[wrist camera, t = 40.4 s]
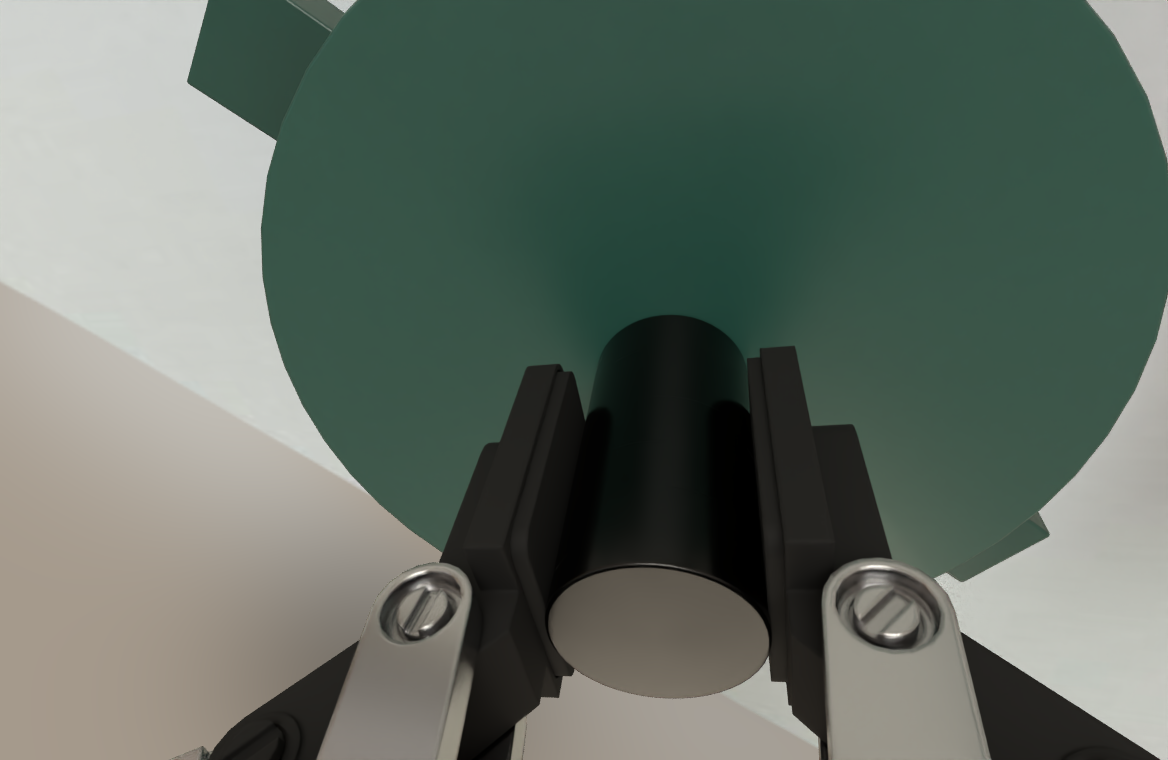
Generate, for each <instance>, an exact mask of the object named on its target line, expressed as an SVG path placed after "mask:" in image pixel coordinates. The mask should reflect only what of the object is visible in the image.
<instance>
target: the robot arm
mask: <svg viewBox="0 0 1168 760" xmlns="http://www.w3.org/2000/svg"><path fill="white" fill-rule="evenodd" d="M747 371H748V389H749V406H750V420H751V431H752V442H753V453H754V464H755V474H756V485H757V496H758V507H759V518H760V529H761V540H762V550H763V561H764V572H765V583H766V594H767V605H768V613H769V615H770V620H771V626H772V646H771V650H770V653H769V663H770V674H771V681H772V682H786V685H787V694H788V704H789V705H791V706H792V713H793V715H794V716H795V717H796V718H798V719H799V720H800V721H801V722H802V723H803V724H804V725H805V726H807V727H808V728H809V729H810V730H811V731H812V732H813V733H814V734H816V735H817V736H818V742H819V760H1160V759H1159V758H1157V757H1155V756H1154V755H1152V754H1151V753H1149V752H1148V751H1146V750H1145V749H1143V748H1141V747H1140V746H1138V745H1137V744H1135V743H1134V742H1132V741H1131V740H1129V739H1127V738H1126V737H1124V736H1123V735H1121V734H1120V733H1118V732H1116V731H1115V730H1113V729H1112V728H1110V727H1109V726H1107V725H1106V724H1104V723H1102V722H1101V721H1099V720H1098V719H1096V718H1095V717H1093V716H1091V715H1090V714H1088V713H1087V712H1085V711H1084V710H1082V709H1081V708H1079V707H1077V706H1076V705H1074V704H1073V703H1071V702H1070V701H1068V700H1066V699H1065V698H1063V697H1062V696H1060V695H1059V694H1057V693H1056V692H1054V691H1052V690H1051V689H1049V688H1048V687H1046V686H1045V685H1043V684H1041V683H1040V682H1038V681H1037V680H1035V679H1034V678H1032V677H1031V676H1029V675H1027V674H1026V673H1024V672H1023V671H1021V670H1020V669H1018V668H1016V667H1015V666H1013V665H1012V664H1010V663H1009V662H1007V661H1006V660H1004V659H1002V658H1001V657H999V656H998V655H996V654H995V653H993V652H991V651H990V650H988V649H987V648H985V647H984V646H982V645H981V644H979V643H977V642H976V641H974V640H973V639H971V638H970V637H968V636H966V635H965V634H963V633H962V632H960V629H959V624H958V620H957V616H956V612H955V609H954V607H953V605H952V603H951V600H950V598H949V596H948V594H947V593H946V592H945V591H944V589H943V588H942V587H941V586H940V585H939V584H938V583H937V581H936V580H935V579H933V578H932V577H930V576H929V575H927V574H926V573H924V572H923V571H921V570H920V569H919V568H916V567H914V566H911V565H909V564H906V563H904V562H901V561H898V560H893V559H892V556H891V552H890V549H889V545H888V542H887V538H886V535H885V531H884V528H883V524H882V520H881V517H880V513H879V510H878V506H877V503H876V499H875V496H874V492H873V489H872V485H871V481H870V478H869V474H868V471H867V467H866V464H865V460H864V457H863V453H862V450H861V446H860V442H859V439H858V435H857V432H856V430H855V427H854V426H853V424H842V425H823V426H811V421H810V416H809V411H808V407H807V402H806V397H805V392H804V387H803V382H802V377H801V372H800V367H799V362H798V357H797V352H796V348H795V346H782V347H769V348H760V357H755V358H747ZM584 426H585V417H584V413H583V409H582V405H581V400H580V396H579V392H578V388H577V383H576V379H575V376H574V373H573V372H572V371H566V372H564V371H563V368H562V366H561V365H560V364H548V365H535V366H528V367H527V368H526V370H525V372H524V375H523V378H522V381H521V384H520V386H519V389H518V392H517V395H516V398H515V400H514V403H513V406H512V409H511V412H510V415H509V417H508V420H507V423H506V426H505V429H504V431H503V434H502V437H501V440H500V442H494V443H488V444H486V445H485V446H484V448H483V450H482V452H481V454H480V457H479V459H478V462H477V464H476V467H475V470H474V472H473V475H472V477H471V480H470V483H469V485H468V488H467V491H466V493H465V496H464V498H463V501H462V504H461V506H460V509H459V511H458V514H457V517H456V519H455V522H454V525H453V527H452V530H451V532H450V535H449V538H448V540H447V543H446V546H445V548H444V551H443V553H442V556H441V559H440V561H439V563H428V564H423V565H418V566H416V567H414V568H411V569H409V570H407V571H405V572H403V573H402V574H400V575H399V576H397V577H396V578H394V579H393V580H392V581H390V582H389V583H388V584H387V585H386V586H385V588H384V589H383V590H382V591H381V592H380V594H378V596H377V598H376V600H375V602H374V604H373V606H372V608H371V610H370V613H369V615H368V618H367V621H366V624H365V626H364V629H363V632H362V635H361V637H360V640H359V641H357V642H356V643H354V644H353V645H352V646H350V647H348V648H347V649H345V650H344V651H343V652H341V653H339V654H338V655H337V656H335V657H334V658H332V659H331V660H329V661H328V662H326V663H325V664H323V665H322V666H320V667H319V668H317V669H316V670H314V671H313V672H311V673H310V674H308V675H307V676H306V677H304V678H303V679H301V680H300V681H298V682H297V683H295V684H294V685H292V686H291V687H289V688H288V689H286V690H285V691H283V692H282V693H280V694H279V695H277V696H276V697H274V698H273V699H271V700H270V701H268V702H267V703H266V704H264V705H262V706H261V707H260V708H258V709H257V710H255V711H254V712H252V713H251V714H249V715H248V716H246V717H245V718H244V719H242V720H241V721H240V722H239V723H237V724H236V725H235V726H234V727H233V728H231V729H230V730H229V731H228V732H227V734H226V735H225V736H224V737H223V738H222V739H221V741H220V742H219V743H218V744H217V745H216V747H215V748H214V750H213V751H211V752H208V751H207V750H206V749H205V748H204V747H203V746H201V747H199V748H197V749H194V750H192V751H189V752H187V753H184V754H182V755H180V756H177V757H175V758H172V759H170V760H523V752H524V743H525V736H526V728H527V722H526V715H527V714H529V713H530V712H531V711H532V710H534V709H535V708H536V707H537V706H538V705H539V704H540V699H541V697H554V698H559V694H560V688H561V683H562V677H563V676H572V675H573V673H574V668H573V667H571V666H570V665H569V664H568V663H567V662H566V661H564V659H563V658H562V657H561V656H560V655H559V654H558V653H557V652H556V650H555V649H554V647H553V646H552V644H551V642H550V640H549V638H548V635H547V631H546V627H545V611H546V606H547V601H548V596H549V591H550V587H551V582H552V577H553V573H554V568H555V563H556V558H557V554H558V549H559V544H560V540H561V535H562V530H563V525H564V521H565V516H566V511H567V507H568V502H569V497H570V492H571V488H572V483H573V478H574V474H575V469H576V464H577V459H578V455H579V450H580V445H581V440H582V436H583V431H584Z"/></svg>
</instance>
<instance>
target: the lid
mask: <svg viewBox="0 0 1168 760" xmlns="http://www.w3.org/2000/svg"><path fill="white" fill-rule="evenodd" d="M261 243H262V274H263V282H264V288H265V293H266V299H267V305H268V310H269V316H270V322H271V326H272V329H273V332H274V335H275V338H276V341H277V344H278V348H279V351H280V354H281V357H282V360H283V363H284V366H285V368H286V371H287V373H288V375H289V377H290V379H291V381H292V383H293V386H294V388H295V390H296V392H297V394H298V396H299V399H300V401H301V403H302V405H303V407H304V408H305V410H306V412H307V413H308V415H309V416H310V418H311V420H312V421H313V423H314V425H315V426H316V428H317V429H318V431H319V433H320V434H321V436H322V437H323V439H324V441H325V442H326V443H327V445H328V446H329V447H330V449H331V450H332V451H333V452H334V454H335V455H336V456H337V458H338V459H339V460H340V461H341V463H342V464H343V465H344V466H345V468H346V469H347V470H348V472H349V473H350V474H351V475H352V476H353V477H354V478H355V479H356V480H357V481H358V482H359V483H360V484H361V486H362V487H363V488H364V489H365V490H366V491H367V492H368V493H369V494H370V495H371V496H372V497H373V498H374V499H375V500H376V501H377V502H378V503H379V504H380V505H381V506H382V507H384V508H385V509H386V510H387V511H388V512H390V513H391V514H392V515H393V516H394V517H395V518H397V519H398V520H399V521H400V522H401V523H402V524H404V525H405V526H406V527H407V528H408V529H410V530H411V531H412V532H414V533H415V534H417V535H418V536H419V537H421V538H423V539H424V540H425V541H427V542H428V543H429V544H431V545H432V546H434V547H435V548H437V549H438V550H439V551H441V552H442V553H443V551H444V548H445V546H446V543H447V540H448V538H449V535H450V532H451V530H452V527H453V525H454V522H455V519H456V517H457V514H458V511H459V509H460V506H461V504H462V501H463V498H464V496H465V493H466V491H467V488H468V485H469V483H470V480H471V477H472V475H473V472H474V470H475V467H476V464H477V462H478V459H479V457H480V454H481V452H482V450H483V448H484V446H485V445H486V444H488V443H494V442H500V440H501V437H502V434H503V431H504V429H505V426H506V423H507V420H508V417H509V415H510V412H511V409H512V406H513V403H514V400H515V398H516V395H517V392H518V389H519V386H520V384H521V381H522V378H523V375H524V372H525V370H526V368H527V367H528V366H535V365H548V364H560V365H561V366H562V368H563V371H564V372H566V371H572V372H573V373H574V376H575V379H576V383H577V388H578V392H579V396H580V400H581V405H582V409H583V413H584V417H585V426H584V431H583V436H582V440H581V445H580V450H579V455H578V459H577V464H576V469H575V474H574V478H573V483H572V488H571V492H570V497H569V502H568V507H567V511H566V516H565V521H564V525H563V530H562V535H561V540H560V544H559V549H558V554H557V558H556V563H555V568H554V573H553V577H552V582H551V587H550V591H549V596H548V601H547V606H546V611H545V627H546V631H547V635H548V638H549V640H550V642H551V644H552V646H553V647H554V649H555V650H556V652H557V653H558V654H559V655H560V656H561V657H562V658H563V659H564V661H566V662H567V663H568V664H569V665H570V666H571V667H573V668H574V669H576V670H577V671H578V672H580V673H581V674H583V675H585V676H587V677H588V678H590V679H592V680H594V681H596V682H598V683H601V684H603V685H605V686H608V687H611V688H614V689H616V690H620V691H624V692H627V693H631V694H636V695H641V696H648V697H656V698H691V697H700V696H706V695H711V694H715V693H719V692H722V691H725V690H728V689H731V688H733V687H735V686H737V685H739V684H741V683H743V682H745V681H746V680H748V679H749V678H751V677H752V676H753V675H754V674H755V673H756V672H758V671H759V669H760V668H761V667H762V666H763V665H764V663H765V661H766V659H767V658H768V656H769V653H770V650H771V646H772V626H771V620H770V615H769V613H768V605H767V594H766V583H765V572H764V561H763V550H762V540H761V529H760V518H759V507H758V496H757V485H756V474H755V464H754V453H753V442H752V431H751V420H750V406H749V389H748V371H747V358H755V357H760V348H769V347H782V346H795V348H796V352H797V357H798V362H799V367H800V372H801V377H802V382H803V387H804V392H805V397H806V402H807V407H808V411H809V416H810V421H811V426H823V425H842V424H853V426H854V427H855V430H856V432H857V435H858V439H859V442H860V446H861V450H862V453H863V457H864V460H865V464H866V467H867V471H868V474H869V478H870V481H871V485H872V489H873V492H874V496H875V499H876V503H877V506H878V510H879V513H880V517H881V520H882V524H883V528H884V531H885V535H886V538H887V542H888V545H889V549H890V552H891V556H892V559H893V560H898V561H901V562H904V563H906V564H909V565H911V566H914V567H916V568H919V569H920V570H921V571H923V572H924V573H926V574H927V575H929V576H930V577H932V578H933V579H934V578H936V577H938V576H940V575H942V574H944V573H946V572H948V571H950V570H952V569H954V568H956V567H958V566H960V565H962V564H963V563H965V562H967V561H968V560H970V559H971V558H973V557H975V556H976V555H978V554H980V553H981V552H983V551H984V550H986V549H988V548H989V547H991V546H993V545H994V544H996V543H997V542H999V541H1001V540H1002V539H1003V538H1004V537H1006V536H1007V535H1008V534H1010V533H1011V532H1012V531H1014V530H1015V529H1016V528H1017V527H1019V526H1020V525H1021V524H1023V523H1024V522H1025V521H1027V520H1028V519H1029V518H1030V517H1032V516H1033V515H1034V514H1036V513H1037V512H1038V511H1039V510H1040V509H1041V508H1042V507H1044V506H1045V505H1046V504H1047V503H1048V502H1049V501H1050V500H1051V499H1052V498H1053V497H1054V496H1055V495H1056V494H1057V493H1058V492H1059V491H1060V490H1061V489H1062V488H1063V487H1064V486H1065V485H1066V484H1067V483H1068V482H1069V481H1070V480H1071V479H1072V478H1073V477H1074V476H1075V475H1076V474H1077V473H1078V472H1079V470H1080V469H1081V468H1082V467H1083V465H1084V464H1085V463H1086V462H1087V461H1088V459H1089V458H1090V457H1091V456H1092V454H1093V453H1094V452H1095V451H1096V449H1097V448H1098V447H1099V446H1100V444H1101V443H1102V442H1103V441H1104V439H1105V438H1106V437H1107V436H1108V434H1109V432H1110V431H1111V429H1112V427H1113V426H1114V424H1115V423H1116V421H1117V419H1118V418H1119V416H1120V414H1121V413H1122V411H1123V409H1124V408H1125V406H1126V404H1127V403H1128V401H1129V399H1130V398H1131V396H1132V395H1133V393H1134V391H1135V389H1136V387H1137V385H1138V382H1139V380H1140V377H1141V375H1142V373H1143V370H1144V368H1145V366H1146V363H1147V361H1148V358H1149V356H1150V354H1151V351H1152V349H1153V347H1154V344H1155V342H1156V340H1157V336H1158V331H1159V327H1160V323H1161V319H1162V315H1163V311H1164V307H1165V303H1166V299H1167V295H1168V163H1167V158H1166V154H1165V151H1164V148H1163V145H1162V141H1161V138H1160V135H1159V132H1158V129H1157V125H1156V122H1155V119H1154V116H1153V113H1152V109H1151V106H1150V103H1149V100H1148V96H1147V95H1146V93H1145V91H1144V89H1143V87H1142V85H1141V83H1140V82H1139V80H1138V78H1137V76H1136V74H1135V72H1134V70H1133V69H1132V67H1131V65H1130V63H1129V61H1128V59H1127V57H1126V56H1125V54H1124V52H1123V50H1122V48H1121V46H1120V44H1119V43H1118V41H1117V39H1116V37H1115V35H1114V34H1113V33H1112V31H1111V30H1110V29H1109V28H1108V26H1107V25H1106V24H1105V23H1104V22H1103V20H1102V19H1101V18H1100V17H1099V15H1098V14H1097V13H1096V12H1095V11H1094V9H1093V8H1092V7H1091V6H1090V5H1089V3H1088V2H1087V1H1086V0H357V1H356V2H355V3H354V4H353V5H352V6H351V7H350V8H349V9H348V10H347V11H346V12H345V13H344V14H343V15H342V17H341V18H340V20H339V21H338V23H337V24H336V26H335V27H334V29H333V30H332V32H331V33H330V35H329V36H328V38H327V39H326V41H325V42H324V44H323V45H322V47H321V48H320V50H319V51H318V52H317V54H316V55H315V57H314V58H313V60H312V61H311V63H310V64H309V66H308V67H307V69H306V71H305V73H304V76H303V78H302V80H301V82H300V84H299V86H298V89H297V91H296V93H295V95H294V97H293V100H292V102H291V104H290V106H289V108H288V110H287V113H286V115H285V117H284V119H283V121H282V124H281V128H280V132H279V135H278V139H277V142H276V146H275V150H274V153H273V157H272V160H271V164H270V167H269V171H268V175H267V182H266V190H265V199H264V207H263V216H262V224H261Z"/></svg>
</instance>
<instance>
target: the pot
mask: <svg viewBox="0 0 1168 760" xmlns="http://www.w3.org/2000/svg"><path fill="white" fill-rule="evenodd" d="M343 14H344V12H342V11H341V10H340V9H338V8H337V7H335V6H334V5H332V4H331V3H330V2H328V1H327V0H208V4H207V8H206V12H205V15H204V19H203V23H202V27H201V31H200V34H199V38H198V42H197V46H196V50H195V53H194V57H193V61H192V65H191V69H190V72H189V76H188V80H187V82H188V84H190V85H191V86H193V87H194V88H196V89H197V90H199V91H201V92H202V93H204V94H205V95H207V96H208V97H210V98H211V99H213V100H214V101H216V102H218V103H219V104H221V105H222V106H224V107H225V108H227V109H228V110H230V111H232V112H233V113H235V114H236V115H238V116H239V117H241V118H242V119H244V120H245V121H247V122H249V123H250V124H252V125H253V126H255V127H256V128H258V129H259V130H261V131H262V132H264V133H266V134H267V135H269V136H270V137H272V138H273V139H275V140H276V141H277V139H278V135H279V132H280V128H281V124H282V121H283V119H284V117H285V115H286V113H287V110H288V108H289V106H290V104H291V102H292V100H293V97H294V95H295V93H296V91H297V89H298V86H299V84H300V82H301V80H302V78H303V76H304V73H305V71H306V69H307V67H308V66H309V64H310V63H311V61H312V60H313V58H314V57H315V55H316V54H317V52H318V51H319V50H320V48H321V47H322V45H323V44H324V42H325V41H326V39H327V38H328V36H329V35H330V33H331V32H332V30H333V29H334V27H335V26H336V24H337V23H338V21H339V20H340V18H341V17H342V15H343ZM1049 535H1050V534H1049V531H1048V530H1047V528H1046V526H1045V524H1044V522H1043V520H1042V518H1041V516H1040V515H1039V513H1038V512H1037V513H1036V514H1034V515H1033V516H1032V517H1030V518H1029V519H1028V520H1027V521H1025V522H1024V523H1023V524H1021V525H1020V526H1019V527H1017V528H1016V529H1015V530H1014V531H1012V532H1011V533H1010V534H1008V535H1007V536H1006V537H1004V538H1003V539H1002V540H1001V541H999V542H997V543H996V544H994V545H993V546H991V547H989V548H988V549H986V550H984V551H983V552H981V553H980V554H978V555H976V556H975V557H973V558H971V559H970V560H968V561H967V562H965V563H963V564H962V565H960V566H958V567H956V568H954V569H952V570H950V571H948V572H946V573H948V574H949V575H951V576H952V577H954V578H955V579H957V580H959V581H960V582H964V581H966V580H968V579H970V578H972V577H974V576H975V575H977V574H979V573H981V572H983V571H985V570H987V569H989V568H990V567H992V566H994V565H996V564H998V563H1000V562H1002V561H1004V560H1006V559H1007V558H1009V557H1011V556H1013V555H1015V554H1017V553H1019V552H1021V551H1023V550H1024V549H1026V548H1028V547H1030V546H1032V545H1034V544H1036V543H1038V542H1039V541H1041V540H1043V539H1045V538H1047V537H1049Z"/></svg>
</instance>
